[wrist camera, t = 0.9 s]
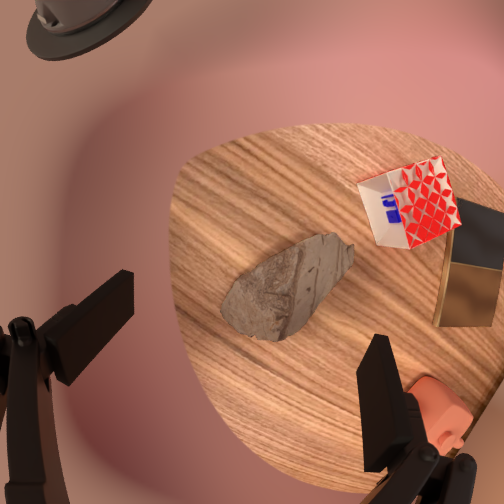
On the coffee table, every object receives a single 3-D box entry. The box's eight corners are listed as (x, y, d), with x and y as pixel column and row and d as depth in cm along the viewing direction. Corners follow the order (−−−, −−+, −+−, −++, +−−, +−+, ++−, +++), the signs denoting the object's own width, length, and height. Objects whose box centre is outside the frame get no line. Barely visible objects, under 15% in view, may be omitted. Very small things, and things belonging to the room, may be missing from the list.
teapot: (417, 447, 39) (445, 481, 28) (350, 416, 37) (377, 460, 27) (460, 396, 38) (495, 423, 28) (402, 352, 37) (444, 383, 26)
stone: (336, 216, 35) (283, 198, 28) (387, 266, 30) (346, 262, 23) (268, 304, 41) (209, 308, 34) (305, 355, 37) (248, 372, 29)
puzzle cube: (424, 225, 36) (461, 225, 28) (376, 245, 35) (409, 249, 28) (405, 166, 35) (440, 154, 27) (356, 182, 35) (385, 171, 27)
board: (450, 196, 36) (455, 196, 34) (502, 214, 36) (508, 214, 35) (431, 324, 37) (437, 327, 35) (486, 324, 38) (492, 327, 36)
